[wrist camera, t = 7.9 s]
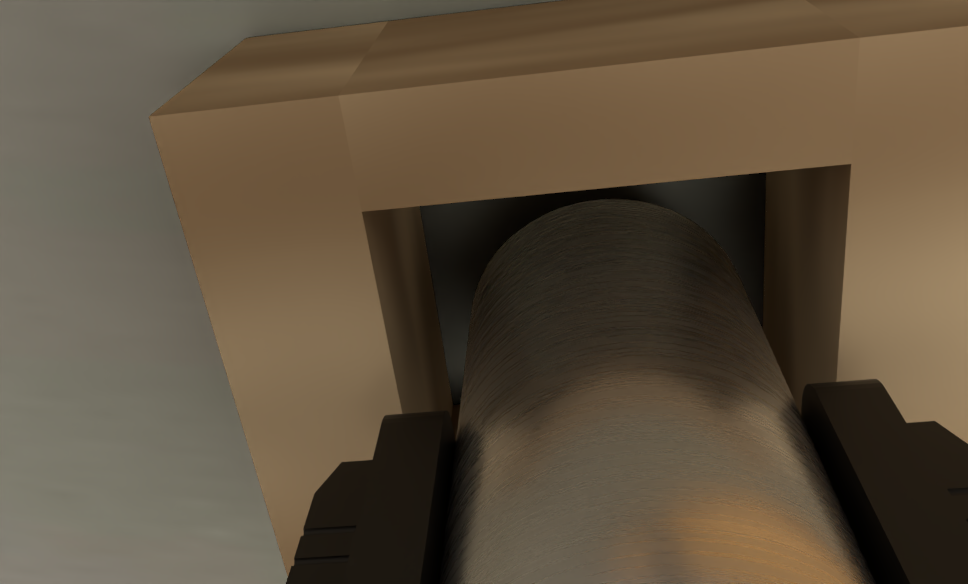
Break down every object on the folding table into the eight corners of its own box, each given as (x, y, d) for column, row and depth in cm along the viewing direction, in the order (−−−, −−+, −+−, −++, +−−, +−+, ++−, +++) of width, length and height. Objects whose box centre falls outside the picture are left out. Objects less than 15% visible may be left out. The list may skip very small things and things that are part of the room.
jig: (245, 37, 14) (149, 117, 10) (930, -44, 13) (1081, 13, 9) (406, 700, 21) (380, 883, 17) (858, 679, 20) (929, 869, 16)
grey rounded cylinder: (453, 214, 13) (272, 1156, 4) (746, 184, 12) (1311, 1159, 3) (488, 444, 14) (422, 1439, 6) (744, 426, 14) (1105, 1465, 5)
